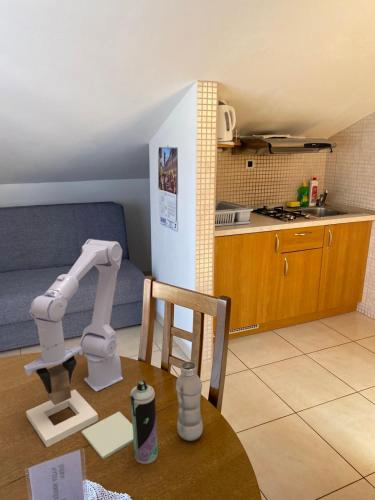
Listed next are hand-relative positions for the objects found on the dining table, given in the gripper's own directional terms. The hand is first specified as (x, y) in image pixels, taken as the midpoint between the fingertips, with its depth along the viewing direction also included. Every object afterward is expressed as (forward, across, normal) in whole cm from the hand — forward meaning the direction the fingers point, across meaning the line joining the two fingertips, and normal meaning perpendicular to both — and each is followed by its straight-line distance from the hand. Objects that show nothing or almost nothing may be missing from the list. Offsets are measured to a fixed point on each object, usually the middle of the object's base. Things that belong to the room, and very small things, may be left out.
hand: (58, 387), depth 102 cm
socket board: (+10, 0, 0) cm, 10 cm away
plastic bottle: (+10, -22, +27) cm, 36 cm away
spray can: (+10, -10, +25) cm, 29 cm away
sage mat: (+10, -7, +14) cm, 19 cm away
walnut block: (+3, 0, 0) cm, 3 cm away
